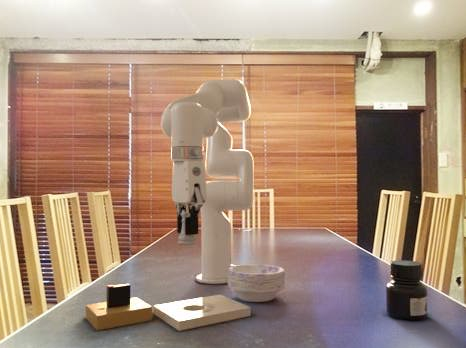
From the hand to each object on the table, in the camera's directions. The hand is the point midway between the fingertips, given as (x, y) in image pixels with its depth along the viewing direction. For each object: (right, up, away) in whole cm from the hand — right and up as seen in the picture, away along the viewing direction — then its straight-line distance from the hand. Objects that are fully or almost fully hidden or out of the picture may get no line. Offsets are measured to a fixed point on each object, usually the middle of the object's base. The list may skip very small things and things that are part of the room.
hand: (187, 232), depth 101 cm
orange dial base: (-15, -19, -4) cm, 25 cm away
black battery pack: (-15, -16, -4) cm, 22 cm away
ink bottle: (+51, -19, -2) cm, 54 cm away
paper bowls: (+16, -20, +14) cm, 29 cm away
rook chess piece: (0, -3, 0) cm, 3 cm away
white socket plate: (+3, -19, -1) cm, 19 cm away
